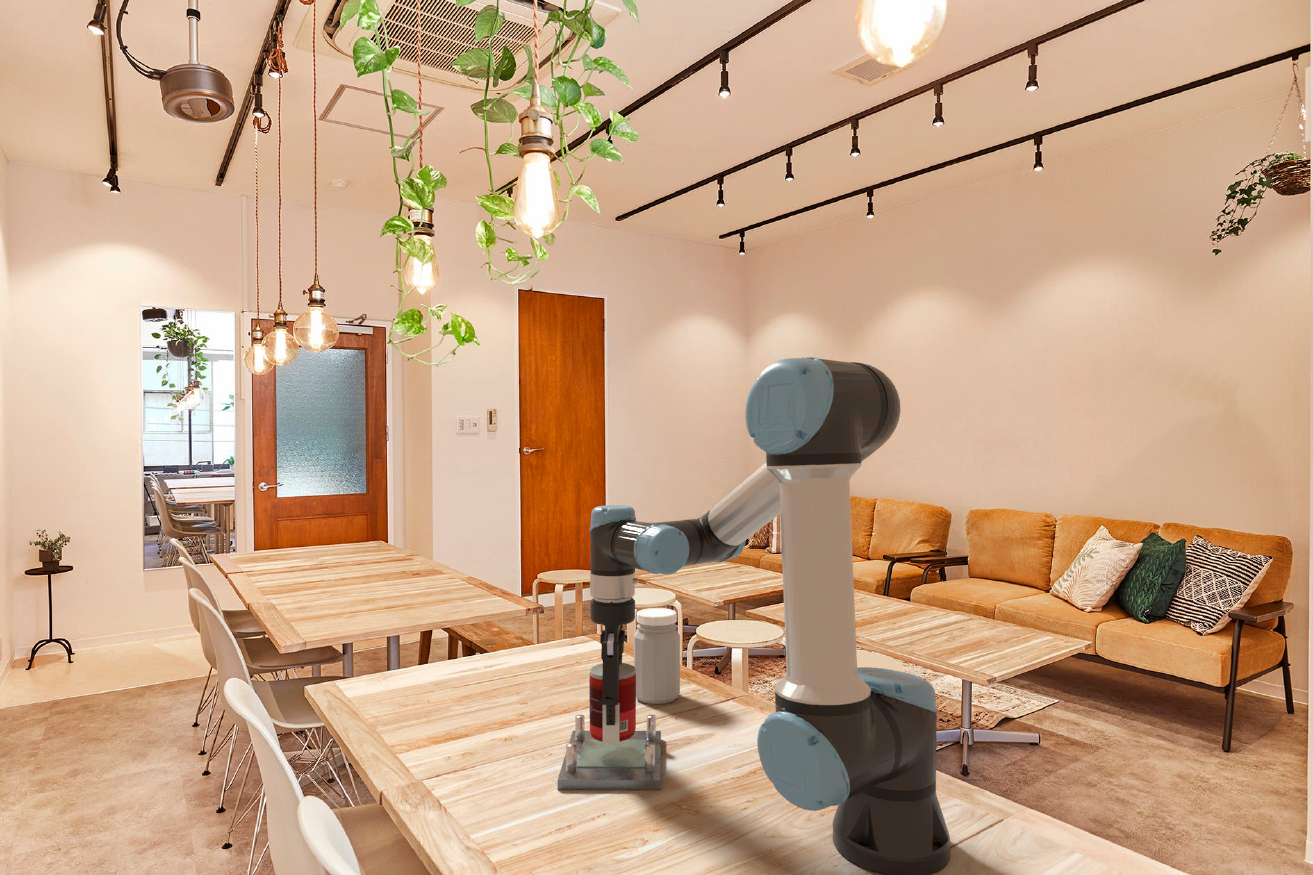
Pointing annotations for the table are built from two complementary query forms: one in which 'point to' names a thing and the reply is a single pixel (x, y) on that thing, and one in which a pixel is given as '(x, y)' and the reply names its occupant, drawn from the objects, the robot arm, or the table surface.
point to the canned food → (625, 701)
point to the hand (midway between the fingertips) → (612, 732)
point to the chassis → (612, 761)
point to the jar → (657, 656)
